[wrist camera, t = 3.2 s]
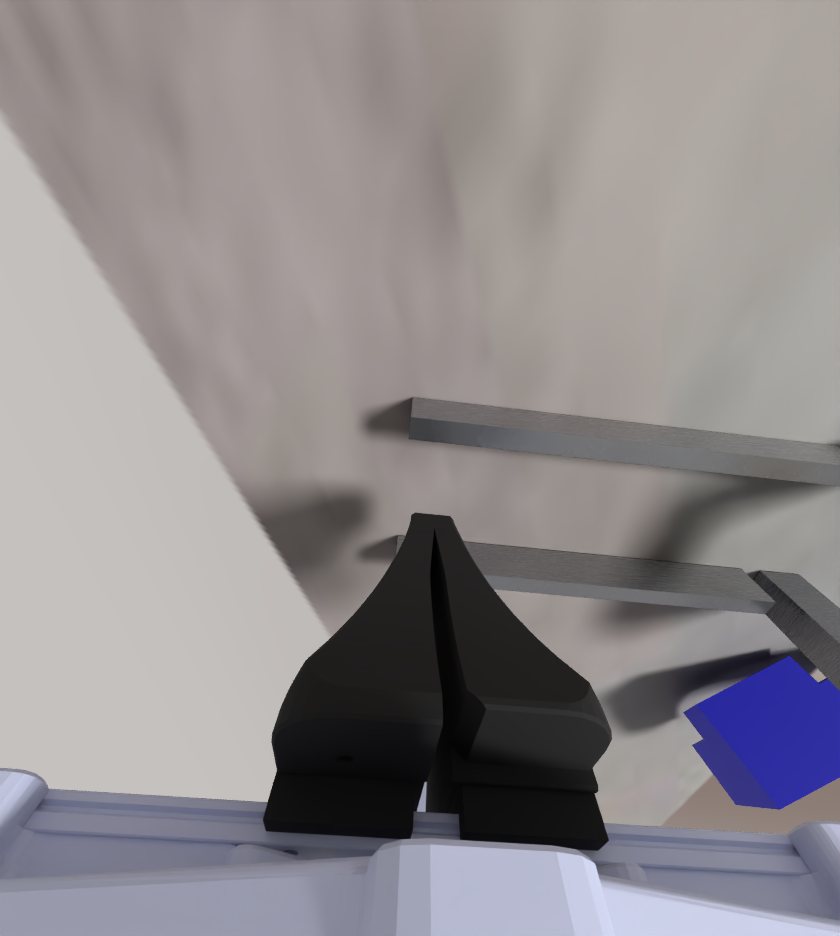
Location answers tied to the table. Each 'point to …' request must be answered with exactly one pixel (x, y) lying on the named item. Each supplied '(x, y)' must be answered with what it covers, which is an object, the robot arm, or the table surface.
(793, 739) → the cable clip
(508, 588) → the guide channel
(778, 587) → the bracket
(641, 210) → the table surface
